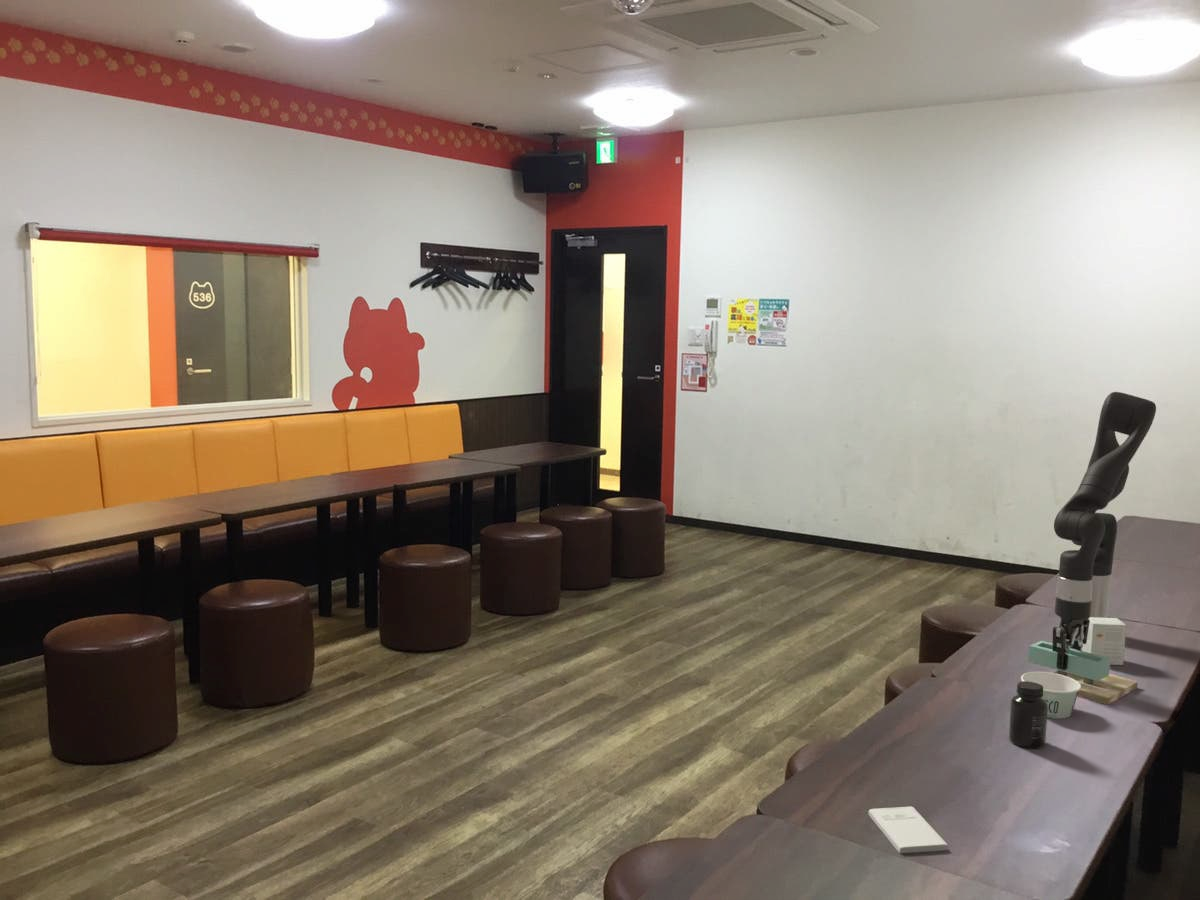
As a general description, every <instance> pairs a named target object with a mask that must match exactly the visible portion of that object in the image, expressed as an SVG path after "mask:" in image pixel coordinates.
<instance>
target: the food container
mask: <svg viewBox="0 0 1200 900" xmlns="http://www.w3.org/2000/svg"><path fill="white" fill-rule="evenodd" d="M1020 681H1021V682H1022V681H1029V682H1035V683H1038V684H1040V685H1042V686H1043V697H1042V698H1043V699H1044V700H1045V701H1046V702H1047V705H1048V711H1047V718H1049V717H1052V718H1051V719H1066V717H1067V718H1069V716H1070V717H1071V716H1072V714H1073V712H1074V707H1075V705H1076V701H1077V697H1078V696H1077V695H1078V691H1079V690H1081V684H1080V683H1079V682H1077V681H1076V680H1074V679H1072V678H1070V677H1067V676H1064V675H1060V674H1056V673H1054V672H1050V671H1029V672H1026V673H1023V674H1022V675H1021V676H1020Z"/></svg>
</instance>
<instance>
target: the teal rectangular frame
mask: <svg viewBox="0 0 1200 900" xmlns="http://www.w3.org/2000/svg"><path fill="white" fill-rule="evenodd" d="M1028 647H1029V648H1028V649H1029V650H1028V663H1031V664H1035V665H1039V666H1042V667H1046V668H1049V669H1053V670H1057V671H1058V670H1059V671H1063V672H1067V673H1070V674H1074V675H1077V676H1081V677H1085V678H1088V679H1092V680H1095V681H1099V680H1101V679H1103V678H1105V677H1106V676H1108V675H1109V674H1110V670H1111V669H1110V667H1111V665H1110V658H1107V657H1103V656H1099V655H1096V654H1092V653H1088V652H1084V651H1082V650H1081V651H1080V650H1076V649H1072V648H1070V650H1069V653H1068V665H1067V669H1066V670H1062V669H1058V668H1057V652H1054V651H1053V642H1048V641H1045V640H1040V641H1037V642H1034V643H1032V644H1030V645H1029V646H1028Z"/></svg>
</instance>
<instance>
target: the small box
mask: <svg viewBox="0 0 1200 900" xmlns="http://www.w3.org/2000/svg"><path fill="white" fill-rule="evenodd" d="M1089 620H1090V622H1089V629H1088V636H1087V643H1086V644H1083V648H1081V651H1084V652H1088V653H1092V654H1096V655H1099V656H1103V657H1107V658H1110V666H1124V660H1125V659H1124V657H1125V646H1126V634H1127V624H1126V623H1124V622H1123V621H1122V620H1120V619H1119V618H1117V617H1108V618H1098V617H1090V618H1089Z"/></svg>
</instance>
